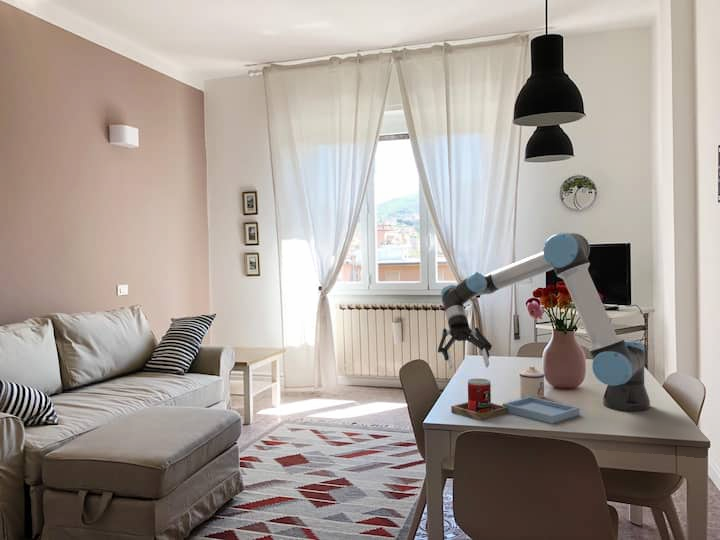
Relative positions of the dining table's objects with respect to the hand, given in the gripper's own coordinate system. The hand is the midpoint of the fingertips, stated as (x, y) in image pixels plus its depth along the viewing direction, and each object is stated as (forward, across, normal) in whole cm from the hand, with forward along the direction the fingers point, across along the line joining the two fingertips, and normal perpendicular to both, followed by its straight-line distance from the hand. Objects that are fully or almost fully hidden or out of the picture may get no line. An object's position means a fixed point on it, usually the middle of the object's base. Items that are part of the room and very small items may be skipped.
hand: (469, 366), depth 214 cm
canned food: (+17, 0, -3) cm, 18 cm away
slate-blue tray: (+20, -20, 0) cm, 29 cm away
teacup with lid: (+5, -27, -16) cm, 31 cm away
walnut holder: (+17, 0, -3) cm, 17 cm away
